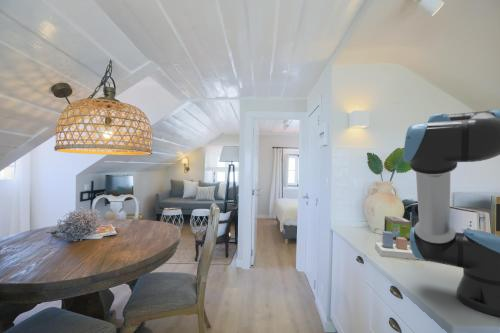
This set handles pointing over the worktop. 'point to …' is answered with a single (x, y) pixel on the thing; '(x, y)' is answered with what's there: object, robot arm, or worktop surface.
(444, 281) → the worktop surface
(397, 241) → the terracotta block
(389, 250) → the board
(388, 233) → the slate block
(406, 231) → the tea box
